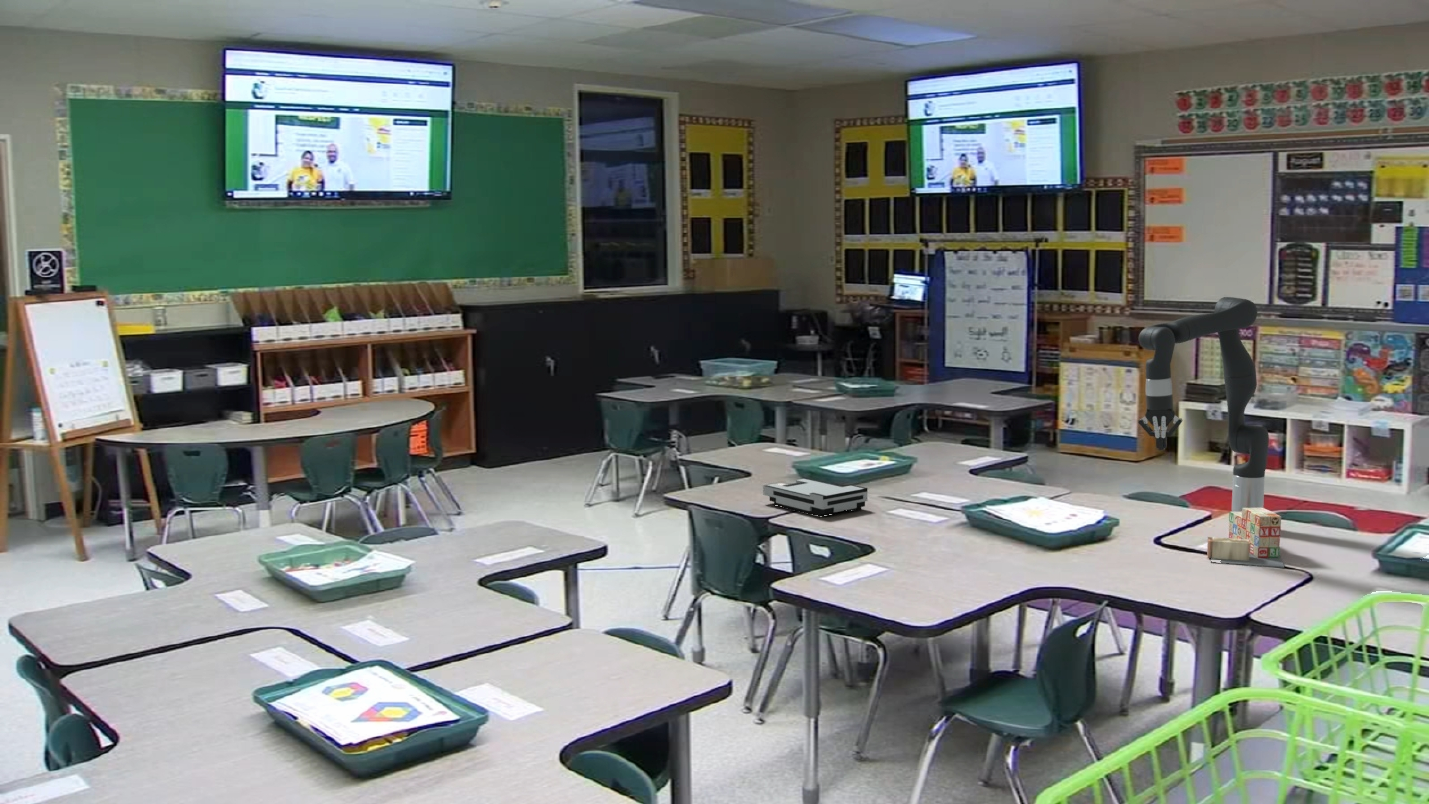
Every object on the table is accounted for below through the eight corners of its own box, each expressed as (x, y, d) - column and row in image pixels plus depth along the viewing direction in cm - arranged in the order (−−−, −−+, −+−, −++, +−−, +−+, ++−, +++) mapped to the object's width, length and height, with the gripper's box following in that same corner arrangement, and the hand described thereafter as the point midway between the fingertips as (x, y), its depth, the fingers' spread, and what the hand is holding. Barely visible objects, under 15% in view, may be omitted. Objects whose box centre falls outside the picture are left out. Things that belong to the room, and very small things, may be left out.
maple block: (1207, 537, 353) (1248, 539, 349) (1207, 553, 353) (1248, 556, 350) (1208, 541, 348) (1249, 543, 344) (1207, 557, 349) (1249, 560, 345)
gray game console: (806, 496, 446) (806, 475, 445) (867, 511, 420) (867, 488, 419) (763, 504, 434) (763, 482, 432) (823, 520, 408) (822, 496, 407)
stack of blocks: (1227, 541, 369) (1229, 501, 368) (1248, 541, 369) (1250, 501, 368) (1258, 557, 348) (1259, 515, 346) (1279, 557, 348) (1281, 515, 346)
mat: (1209, 551, 357) (1209, 550, 357) (1280, 556, 350) (1280, 555, 350) (1211, 562, 345) (1211, 561, 345) (1284, 568, 338) (1284, 566, 338)
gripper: (1184, 390, 361) (1186, 447, 364) (1138, 391, 367) (1140, 447, 370) (1180, 394, 355) (1183, 452, 357) (1134, 395, 361) (1136, 452, 363)
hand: (1161, 449), depth 363 cm, fingers closed
